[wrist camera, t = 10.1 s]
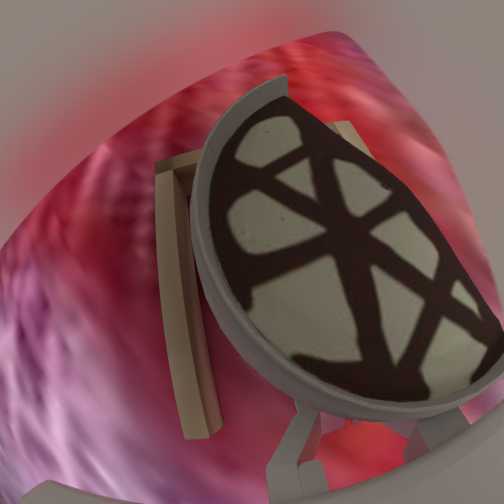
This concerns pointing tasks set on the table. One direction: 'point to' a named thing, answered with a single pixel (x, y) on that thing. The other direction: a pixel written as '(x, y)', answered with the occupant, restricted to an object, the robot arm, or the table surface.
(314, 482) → the robot arm
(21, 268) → the table surface
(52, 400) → the table surface
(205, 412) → the wooden u-shaped frame
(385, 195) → the food container
